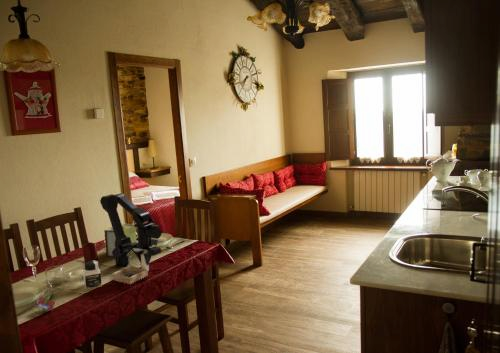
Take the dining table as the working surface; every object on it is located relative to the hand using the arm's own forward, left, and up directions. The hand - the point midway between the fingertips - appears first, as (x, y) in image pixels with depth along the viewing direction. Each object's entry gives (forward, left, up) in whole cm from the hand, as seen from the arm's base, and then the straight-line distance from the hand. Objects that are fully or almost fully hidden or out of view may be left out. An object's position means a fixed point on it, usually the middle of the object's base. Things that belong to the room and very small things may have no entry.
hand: (145, 264), depth 220 cm
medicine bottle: (-22, -17, -4) cm, 28 cm away
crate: (-6, -9, -4) cm, 11 cm away
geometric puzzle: (-33, -42, -4) cm, 53 cm away
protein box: (-21, +29, -4) cm, 36 cm away
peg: (0, 0, -4) cm, 4 cm away
